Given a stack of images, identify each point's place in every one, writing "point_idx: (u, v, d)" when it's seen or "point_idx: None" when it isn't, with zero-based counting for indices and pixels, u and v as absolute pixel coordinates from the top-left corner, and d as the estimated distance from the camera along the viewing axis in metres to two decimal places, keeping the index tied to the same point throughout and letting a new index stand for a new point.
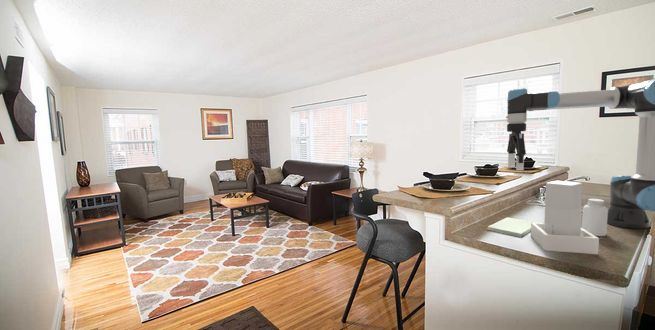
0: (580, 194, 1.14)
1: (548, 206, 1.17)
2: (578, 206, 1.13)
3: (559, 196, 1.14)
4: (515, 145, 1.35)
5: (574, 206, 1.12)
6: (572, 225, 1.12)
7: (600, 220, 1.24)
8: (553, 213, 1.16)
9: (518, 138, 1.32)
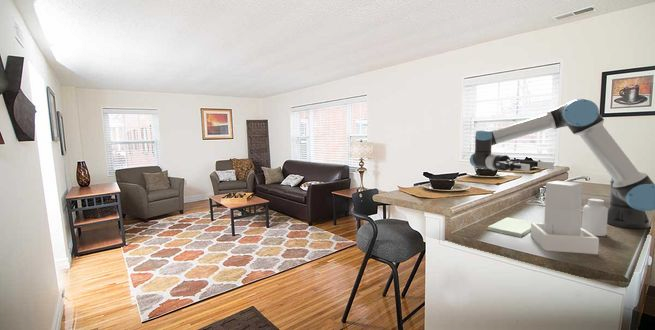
0: (580, 194, 1.14)
1: (548, 206, 1.17)
2: (578, 206, 1.13)
3: (559, 196, 1.14)
4: None
5: (574, 206, 1.12)
6: (572, 225, 1.12)
7: (600, 220, 1.24)
8: (553, 213, 1.16)
9: (499, 166, 1.36)
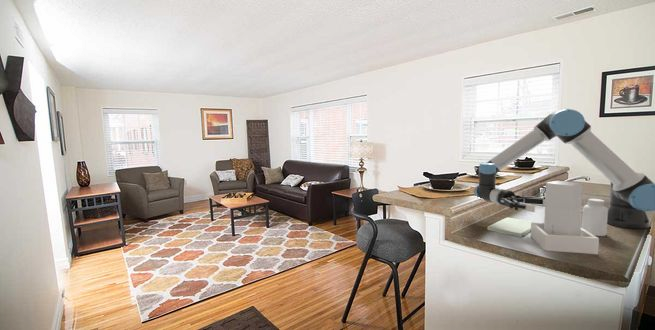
0: (580, 194, 1.14)
1: (548, 206, 1.17)
2: (578, 206, 1.13)
3: (559, 196, 1.14)
4: None
5: (574, 206, 1.12)
6: (572, 225, 1.12)
7: (600, 220, 1.24)
8: (553, 213, 1.16)
9: (503, 203, 1.34)
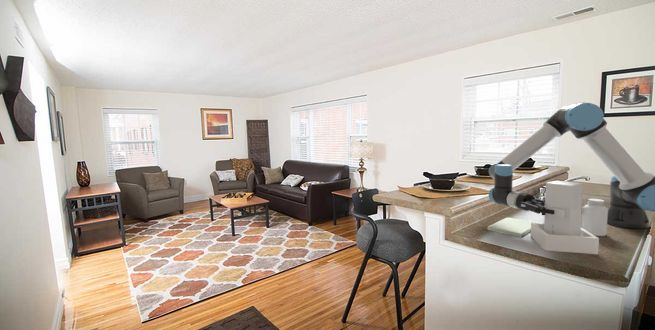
0: (580, 194, 1.14)
1: (548, 206, 1.17)
2: (578, 206, 1.13)
3: (559, 196, 1.14)
4: None
5: (574, 206, 1.12)
6: (572, 225, 1.12)
7: (600, 220, 1.24)
8: None
9: (525, 208, 1.25)
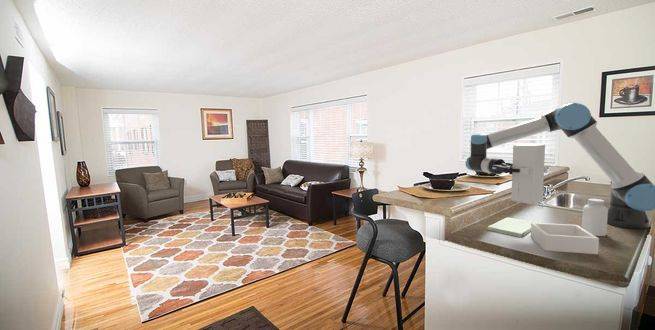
0: (543, 154, 1.26)
1: (515, 166, 1.30)
2: (541, 165, 1.26)
3: (524, 156, 1.26)
4: None
5: (537, 164, 1.24)
6: (535, 182, 1.25)
7: (600, 220, 1.24)
8: None
9: (496, 170, 1.37)
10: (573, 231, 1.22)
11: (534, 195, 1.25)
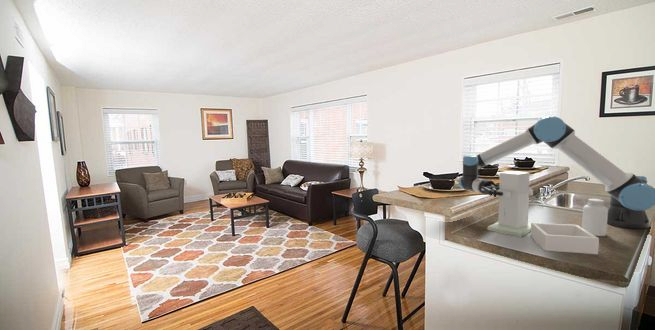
0: (527, 182, 1.35)
1: None
2: (525, 192, 1.35)
3: (509, 183, 1.35)
4: None
5: (521, 191, 1.33)
6: (519, 208, 1.34)
7: (600, 220, 1.24)
8: (505, 198, 1.37)
9: (484, 191, 1.47)
10: (573, 231, 1.22)
11: (518, 220, 1.34)
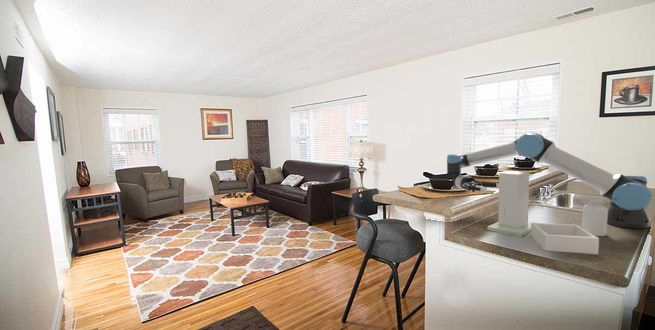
0: (527, 182, 1.35)
1: (501, 192, 1.39)
2: (525, 192, 1.35)
3: (509, 183, 1.35)
4: None
5: (521, 191, 1.33)
6: (519, 208, 1.34)
7: (600, 220, 1.24)
8: (505, 198, 1.37)
9: (464, 187, 1.59)
10: (573, 231, 1.22)
11: (518, 220, 1.34)
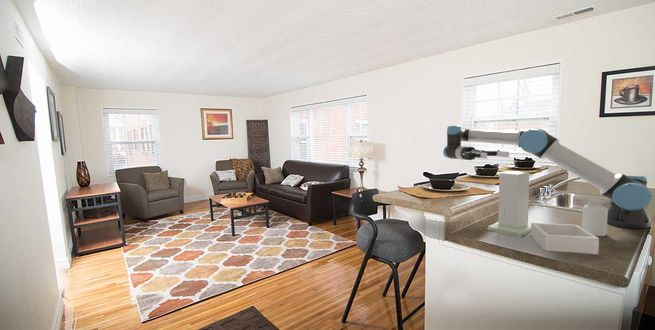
0: (527, 182, 1.35)
1: (501, 192, 1.39)
2: (525, 192, 1.35)
3: (509, 183, 1.35)
4: None
5: (521, 191, 1.33)
6: (519, 208, 1.34)
7: (600, 220, 1.24)
8: (505, 198, 1.37)
9: (464, 156, 1.57)
10: (573, 231, 1.22)
11: (518, 220, 1.34)
